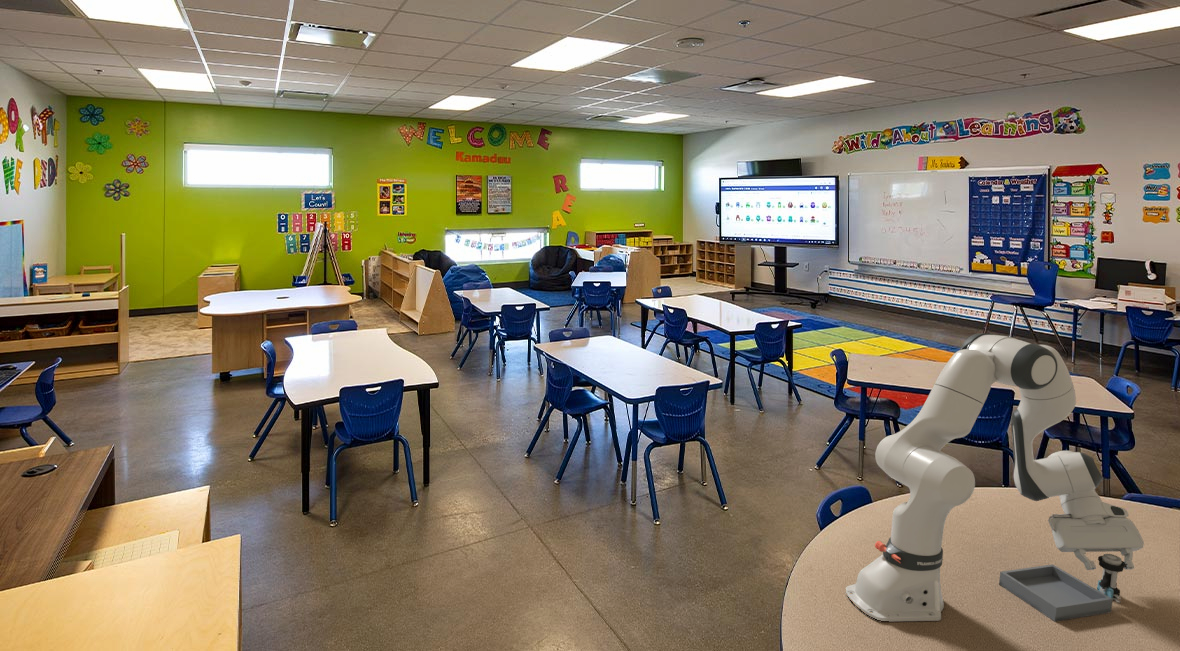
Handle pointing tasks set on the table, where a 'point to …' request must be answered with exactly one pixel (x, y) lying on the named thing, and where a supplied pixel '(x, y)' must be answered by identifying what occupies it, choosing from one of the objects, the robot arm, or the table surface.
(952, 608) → the table surface
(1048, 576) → the dock tray
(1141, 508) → the table surface
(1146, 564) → the table surface
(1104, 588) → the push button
